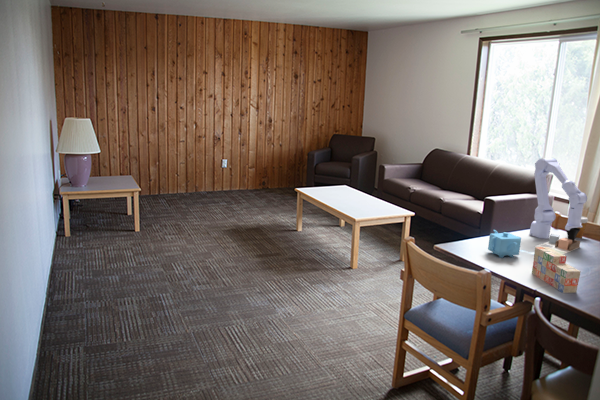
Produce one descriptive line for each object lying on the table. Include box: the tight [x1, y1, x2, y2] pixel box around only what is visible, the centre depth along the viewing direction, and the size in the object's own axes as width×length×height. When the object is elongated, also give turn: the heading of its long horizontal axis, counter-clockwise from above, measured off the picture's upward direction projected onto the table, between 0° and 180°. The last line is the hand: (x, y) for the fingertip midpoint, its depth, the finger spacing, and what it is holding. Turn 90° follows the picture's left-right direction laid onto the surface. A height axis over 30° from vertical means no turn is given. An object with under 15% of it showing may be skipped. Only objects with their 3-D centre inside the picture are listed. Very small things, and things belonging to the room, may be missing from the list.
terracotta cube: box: [558, 237, 572, 250], centre depth 241 cm, size 4×4×4 cm
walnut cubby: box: [555, 237, 581, 252], centre depth 243 cm, size 7×11×3 cm
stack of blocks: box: [531, 246, 581, 294], centre depth 199 cm, size 21×6×12 cm, turn 7°
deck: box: [534, 241, 581, 255], centre depth 243 cm, size 14×20×1 cm
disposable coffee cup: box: [575, 215, 589, 239], centre depth 263 cm, size 10×10×12 cm
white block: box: [548, 233, 560, 244], centre depth 250 cm, size 4×4×4 cm
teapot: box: [487, 229, 522, 259], centre depth 232 cm, size 16×18×11 cm
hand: (570, 241), depth 245 cm, fingers closed
